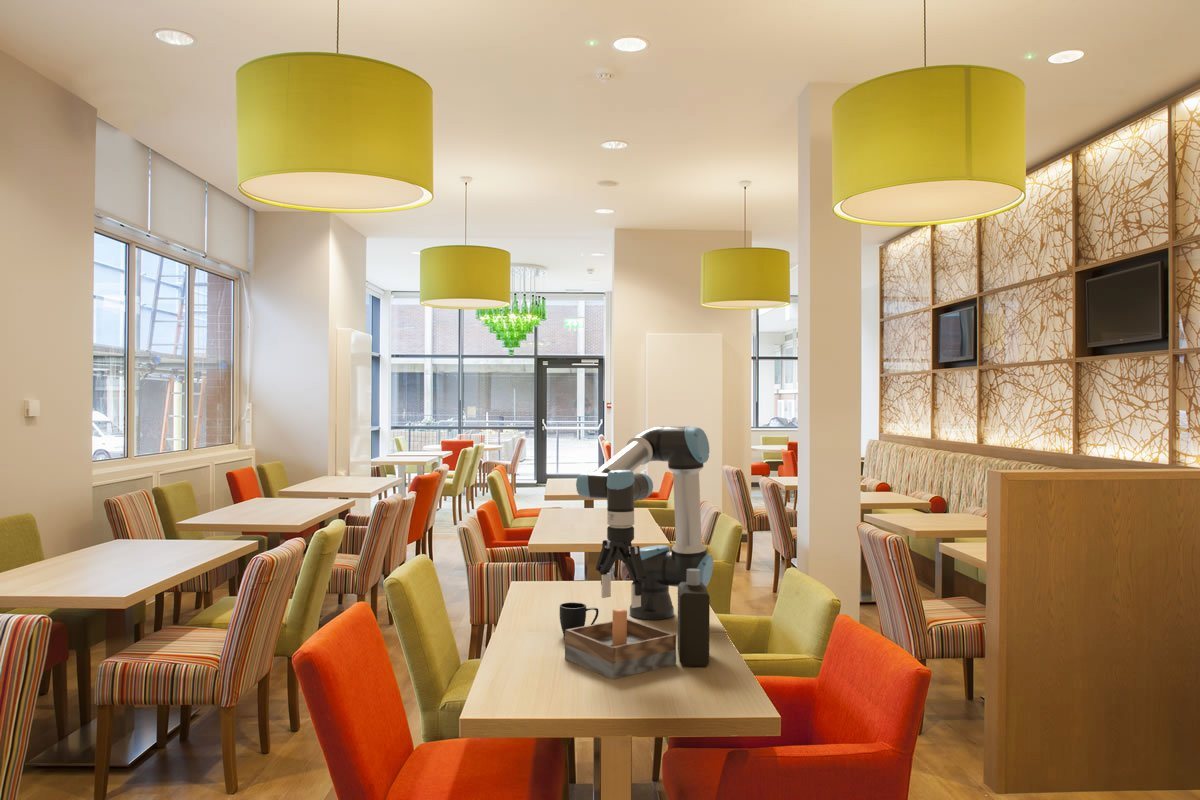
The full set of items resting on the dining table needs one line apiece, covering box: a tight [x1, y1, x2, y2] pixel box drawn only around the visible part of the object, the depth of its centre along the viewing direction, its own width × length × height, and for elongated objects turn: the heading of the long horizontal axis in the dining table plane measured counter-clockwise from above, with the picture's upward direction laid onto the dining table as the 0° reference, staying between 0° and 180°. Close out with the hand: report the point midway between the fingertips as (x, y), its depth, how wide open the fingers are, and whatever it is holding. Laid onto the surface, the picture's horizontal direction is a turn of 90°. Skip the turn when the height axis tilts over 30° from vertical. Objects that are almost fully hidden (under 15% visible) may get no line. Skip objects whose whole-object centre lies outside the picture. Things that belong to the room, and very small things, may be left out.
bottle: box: [677, 568, 711, 668], centre depth 231 cm, size 8×16×25 cm, turn 177°
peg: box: [612, 608, 628, 647], centre depth 229 cm, size 4×4×14 cm
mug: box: [559, 601, 600, 638], centre depth 253 cm, size 8×12×10 cm
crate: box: [564, 618, 677, 680], centre depth 229 cm, size 22×22×8 cm
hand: (620, 602), depth 229 cm, fingers open, 13 cm apart
